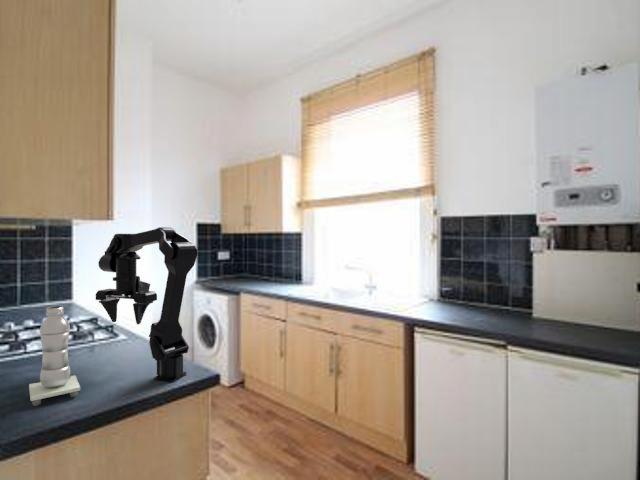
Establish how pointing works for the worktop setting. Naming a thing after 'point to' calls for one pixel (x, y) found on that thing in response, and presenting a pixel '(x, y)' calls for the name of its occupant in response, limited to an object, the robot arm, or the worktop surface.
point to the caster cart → (53, 390)
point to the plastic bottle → (55, 348)
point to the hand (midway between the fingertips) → (126, 323)
